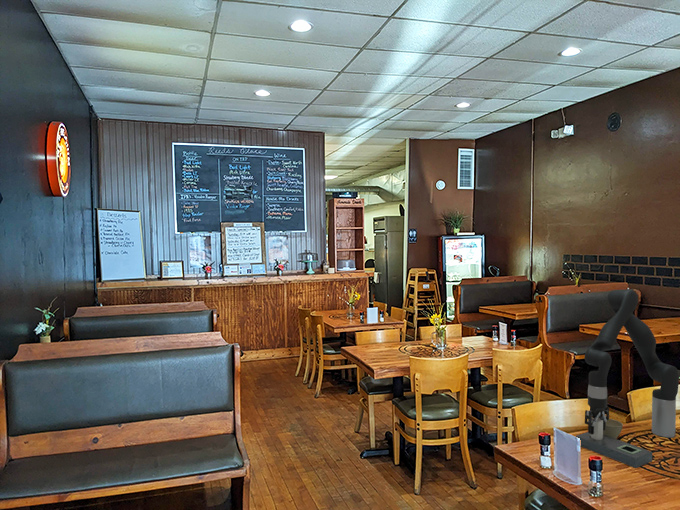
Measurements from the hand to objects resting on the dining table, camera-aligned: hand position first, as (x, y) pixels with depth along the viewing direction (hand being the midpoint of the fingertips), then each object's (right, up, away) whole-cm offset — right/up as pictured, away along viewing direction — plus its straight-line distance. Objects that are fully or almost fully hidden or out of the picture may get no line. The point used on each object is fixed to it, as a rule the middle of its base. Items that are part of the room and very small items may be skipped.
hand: (596, 431), depth 211 cm
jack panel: (+4, -7, -6) cm, 10 cm away
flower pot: (+12, -7, +10) cm, 17 cm away
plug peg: (0, -7, 0) cm, 7 cm away
